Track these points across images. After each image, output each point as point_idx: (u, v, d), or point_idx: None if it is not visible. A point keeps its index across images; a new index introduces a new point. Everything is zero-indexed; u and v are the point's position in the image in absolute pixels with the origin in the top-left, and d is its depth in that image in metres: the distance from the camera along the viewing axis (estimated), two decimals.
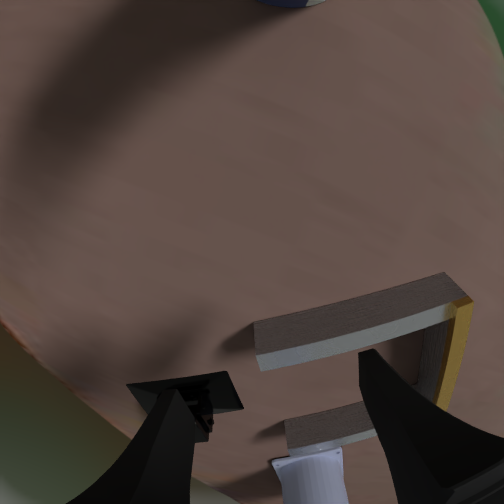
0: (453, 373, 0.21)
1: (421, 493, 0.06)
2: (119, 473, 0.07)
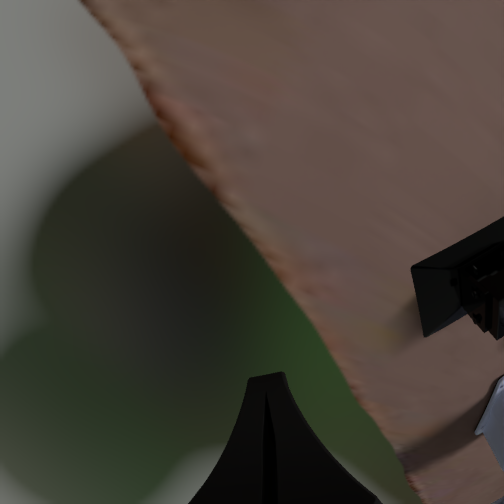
0: None
1: None
2: (231, 471, 0.07)
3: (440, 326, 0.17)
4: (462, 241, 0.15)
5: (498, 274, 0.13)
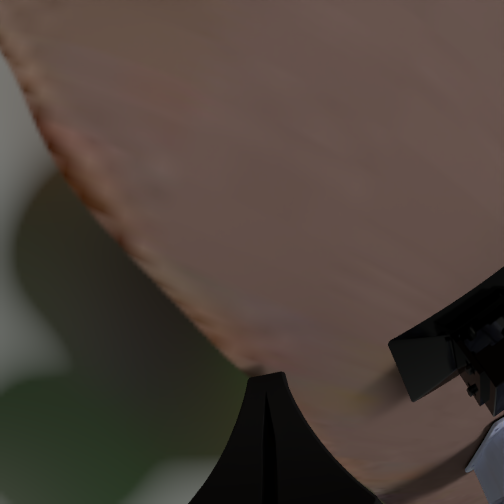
0: None
1: None
2: (231, 471, 0.07)
3: (432, 389, 0.14)
4: (456, 302, 0.12)
5: (499, 344, 0.10)
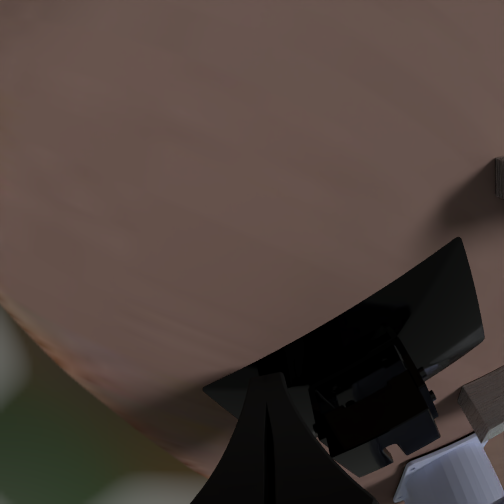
0: None
1: None
2: (233, 471, 0.07)
3: None
4: (308, 354, 0.12)
5: (352, 407, 0.10)
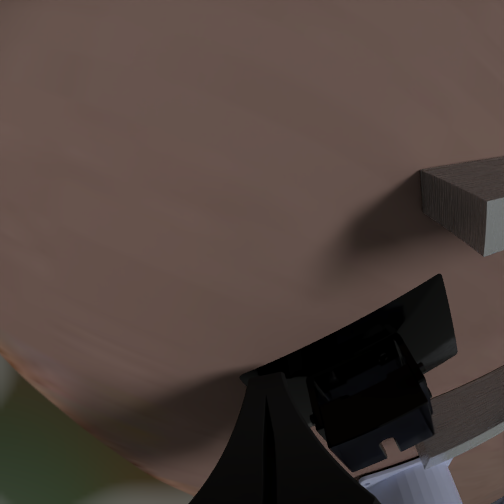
0: None
1: None
2: (231, 471, 0.07)
3: None
4: None
5: (351, 399, 0.10)
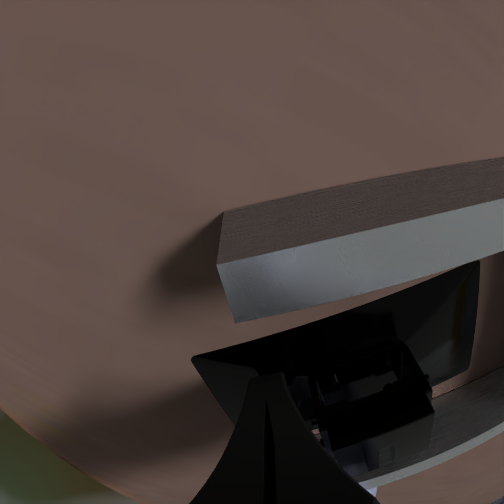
0: None
1: None
2: (233, 471, 0.07)
3: None
4: (317, 342, 0.12)
5: (357, 403, 0.10)
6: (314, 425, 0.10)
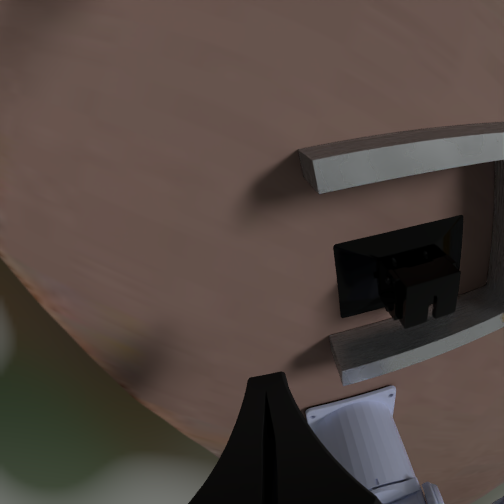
0: None
1: None
2: (231, 471, 0.07)
3: (356, 311, 0.21)
4: (385, 234, 0.18)
5: (414, 267, 0.17)
6: (389, 282, 0.17)
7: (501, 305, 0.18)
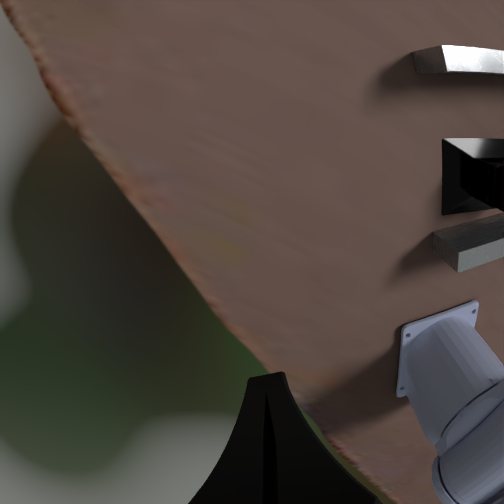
0: None
1: None
2: (231, 471, 0.07)
3: (454, 210, 0.20)
4: (477, 139, 0.18)
5: None
6: (489, 170, 0.16)
7: None
